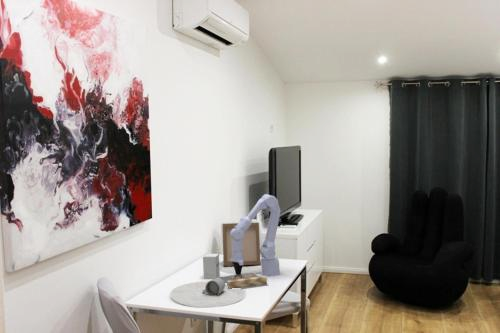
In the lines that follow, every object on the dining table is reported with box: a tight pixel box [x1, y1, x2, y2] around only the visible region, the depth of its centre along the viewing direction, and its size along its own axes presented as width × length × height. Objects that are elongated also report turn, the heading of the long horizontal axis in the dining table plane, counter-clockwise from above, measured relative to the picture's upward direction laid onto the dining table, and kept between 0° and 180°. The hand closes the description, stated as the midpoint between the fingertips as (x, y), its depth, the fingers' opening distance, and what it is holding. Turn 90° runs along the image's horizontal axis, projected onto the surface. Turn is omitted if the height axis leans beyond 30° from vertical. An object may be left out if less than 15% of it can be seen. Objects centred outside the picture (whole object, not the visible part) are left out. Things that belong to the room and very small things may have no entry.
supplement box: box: [202, 253, 221, 280], centre depth 261 cm, size 7×7×13 cm
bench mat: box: [218, 272, 269, 290], centre depth 250 cm, size 20×26×1 cm
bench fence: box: [226, 274, 268, 290], centre depth 243 cm, size 20×5×4 cm, turn 107°
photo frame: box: [222, 222, 261, 267], centre depth 289 cm, size 15×22×25 cm
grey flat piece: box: [229, 272, 257, 280], centre depth 249 cm, size 12×8×3 cm, turn 107°
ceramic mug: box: [202, 278, 226, 296], centre depth 233 cm, size 11×8×8 cm
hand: (238, 275), depth 258 cm, fingers closed
